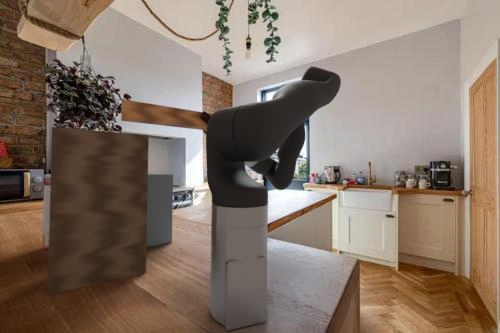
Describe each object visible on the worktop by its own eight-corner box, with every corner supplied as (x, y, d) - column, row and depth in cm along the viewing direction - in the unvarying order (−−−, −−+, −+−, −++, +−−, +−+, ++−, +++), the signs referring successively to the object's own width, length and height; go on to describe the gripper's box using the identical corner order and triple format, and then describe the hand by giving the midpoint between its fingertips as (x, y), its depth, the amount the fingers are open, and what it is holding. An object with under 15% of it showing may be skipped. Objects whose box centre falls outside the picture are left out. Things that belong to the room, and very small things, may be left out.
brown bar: (214, 131, 65) (215, 117, 66) (221, 129, 62) (221, 115, 62) (121, 120, 52) (121, 103, 52) (122, 117, 49) (123, 99, 49)
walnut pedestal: (139, 257, 57) (141, 140, 57) (145, 272, 48) (148, 135, 49) (56, 273, 48) (59, 133, 48) (47, 295, 39) (51, 126, 40)
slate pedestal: (163, 234, 76) (165, 173, 77) (171, 242, 68) (173, 174, 68) (108, 242, 67) (110, 173, 68) (110, 253, 59) (112, 174, 59)
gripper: (237, 142, 76) (195, 110, 67) (262, 137, 64) (216, 98, 56) (227, 160, 74) (183, 130, 65) (251, 159, 62) (201, 122, 54)
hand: (198, 115), depth 61 cm, fingers closed on brown bar, 4 cm apart
